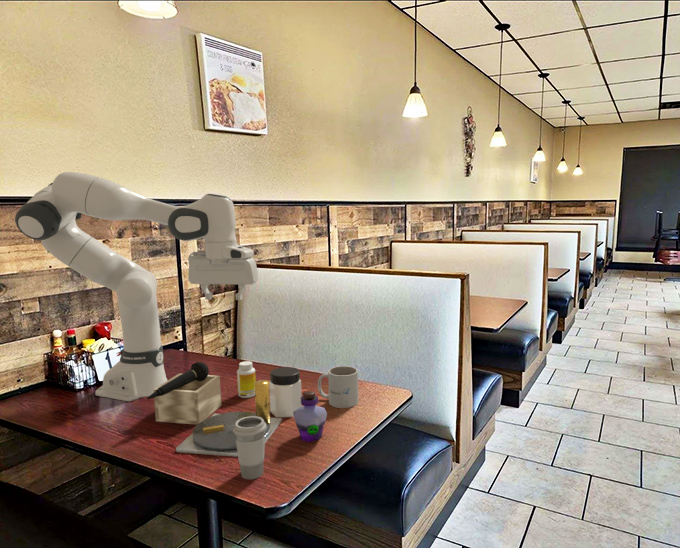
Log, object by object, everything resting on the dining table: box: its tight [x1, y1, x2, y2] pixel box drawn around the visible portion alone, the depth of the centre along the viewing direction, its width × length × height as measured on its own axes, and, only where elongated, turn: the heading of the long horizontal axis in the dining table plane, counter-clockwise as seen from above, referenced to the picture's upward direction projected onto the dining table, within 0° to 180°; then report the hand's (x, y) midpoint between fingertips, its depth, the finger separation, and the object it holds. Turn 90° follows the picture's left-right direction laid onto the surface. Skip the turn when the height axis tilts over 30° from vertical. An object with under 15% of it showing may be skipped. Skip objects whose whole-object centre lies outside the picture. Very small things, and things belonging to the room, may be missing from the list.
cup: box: [233, 416, 267, 480], centre depth 103 cm, size 7×7×12 cm
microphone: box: [146, 361, 210, 400], centre depth 132 cm, size 6×6×20 cm
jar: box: [268, 366, 303, 418], centre depth 135 cm, size 9×8×12 cm
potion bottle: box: [293, 390, 328, 443], centre depth 119 cm, size 9×9×12 cm
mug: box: [317, 365, 359, 409], centre depth 141 cm, size 12×9×10 cm
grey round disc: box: [192, 379, 271, 450], centre depth 121 cm, size 19×19×12 cm
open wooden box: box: [153, 373, 222, 426], centre depth 136 cm, size 13×13×9 cm
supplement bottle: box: [236, 360, 257, 399], centre depth 148 cm, size 6×6×10 cm
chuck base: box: [175, 412, 283, 458], centre depth 122 cm, size 20×20×1 cm
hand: (224, 299), depth 139 cm, fingers open, 8 cm apart
